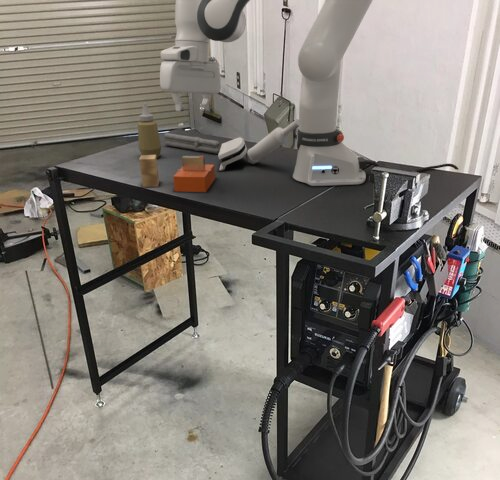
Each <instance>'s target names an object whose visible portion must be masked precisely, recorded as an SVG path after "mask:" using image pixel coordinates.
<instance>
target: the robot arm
mask: <svg viewBox="0 0 500 480" xmlns="http://www.w3.org/2000/svg"><path fill="white" fill-rule="evenodd" d="M250 1H251V0H175V7H174V8H175V9H174V24H175V27H176V34H175V39H174V44H175V45H173V46H171V47H168V48H165V49H163V50H161V51H160V59H161V60H162V62H161V63H160V67H159V87H160V89H161V90H162V92H166V93H171V98H172V101H173V103H174V107H175V109H174V110H175V112H184V111H185V108H184V107H185V104H184V103H182V101H181V98H182V93H184V94H185V93H186V94H187V93H189V94H201V97H202V101H201V103H199V111H200V112H207V111H208V110H209V108H208V107H209V103H210V101H211V99H212V94H220V92H221V88H222V83H221V71H220V67H219V66H220V65H219V64H220V63H219V62H218V60H217V58H216V57H214V56H210V40H211V41H214V42H222V43H232V42H235V41H237V40H239V39H240V37H242V35H243V34H244V32H245V30H246V24H247V19H246V15H245V12H244V11H243V10H244V8H245V7H246V6H247V5H248V3H249V2H250ZM372 2H373V0H325V1H324V3H323V4H322V6H321V8H320V10H319V11H318V14H317V16H316V17H315V19H314V22H313V23H312V26H311V28H310V29H309V31H308V33H307V36H306V37H305V39H304V41H303V44H302V45H301V47H300V49H299V52H298V55H297V64H298V65H297V66H298V69H299V71H300V73H301V83H300V94H299V105H298V106H299V107H298V108H299V109H298V115H299V116H298V120H299V127H298V129H297V131H296V149H297V154H296V155H297V156H296V160H295V167H294V170H293V173H292V178H293V179H294V180H295V181H297V182H301V183H304V184H307V185H309V186H310V187H327V186H348V185H349V186H351V185H353V186H354V185H361V184H364V183H365V181H366V179H367V174H366V171H364V170H365V169H368V168H367V167H368V165H371V166H374V167H376V166H380V165H379V164H378V163H376V162H374V161H367V160H366V158H364V157H363V156H359V157H358V156H357V154H356V153H355V152H354V151H353V150H351V148H349V147H348V146H346V145H345V143H343V141H344V139H345V135H344V133H343V131H342V130H340V129H337V120H338V102H339V92H340V91H339V89H340V79H341V65H342V60H343V57H345V54H346V52H347V50H348V48H349V46H350V45H351V42H352V40H353V39H354V37H355V35H356V33H357V31H358V29H359V27H360V25H361V23H362V22H363V19H364V17H365V16H366V14H367V11H368V10H369V8H370V7H371V4H372ZM445 167H451V168H452V169H454V170H456V171H458V170H459V168H458V166H457V165H456V164H453V163H442V164H438V165H437V164H436V165H430V166H425V167H421V168H418V169H414V170H415V171H417V173H420V172H424V171H427V170H436V169H441V168H445Z"/></svg>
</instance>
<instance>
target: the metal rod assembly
mask: <svg viewBox="0 0 500 480" xmlns="http://www.w3.org/2000/svg"><path fill="white" fill-rule="evenodd" d="M163 135H164V139H166V140H165V141H164V144H165V146H168V147H173V148H180V149H187V150H191V151H195V152H205V153H211V154H215V155H217V154H218V155H219V152H220V148H219V146H220V141H218V140H214V139H207V138H202V137H199V136H189V135H182V134H175V133H169V132H165V133H164V134H163Z"/></svg>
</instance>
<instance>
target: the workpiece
mask: <svg viewBox="0 0 500 480" xmlns="http://www.w3.org/2000/svg"><path fill="white" fill-rule="evenodd" d="M138 159H139V160H138V161H139V169H140V176H141V184H142V187H143V188H154V187H156V188H157V187H159V184H160V177H159V168H158V160H157V159H158V158H156V155H142V154H141V155H140V157H139V158H138Z"/></svg>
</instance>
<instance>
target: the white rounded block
mask: <svg viewBox="0 0 500 480" xmlns="http://www.w3.org/2000/svg"><path fill="white" fill-rule="evenodd" d="M219 150H220V151H219V153H218V155H217V157H218V160H220V166H219V168H218V171H219V172H221V171H224V170H226V167H227V165H230V164H232V163H234V162H236V161H239V160H241V159H242V158H244V156H246V152H247V151H248V148H247V144H246V143H245V140H244V138H243V137H241V136H239V137H236V138H234V139H233V138H232V139H230V140H227V141H226V142H223V143H221V146H220V148H219Z"/></svg>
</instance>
